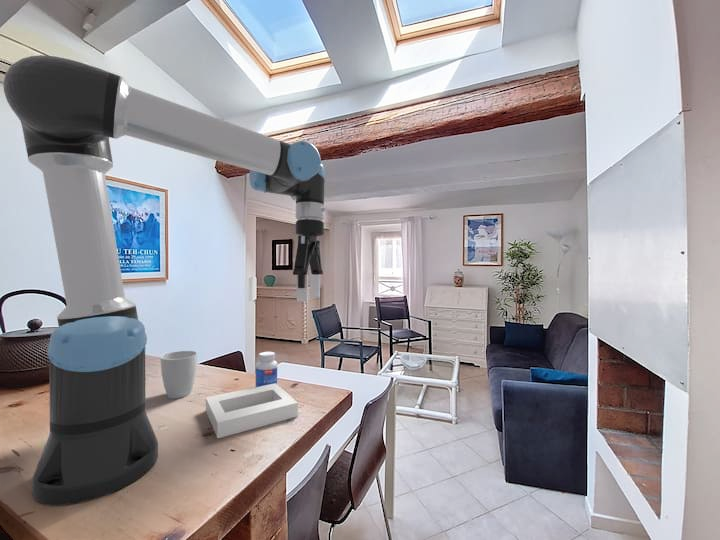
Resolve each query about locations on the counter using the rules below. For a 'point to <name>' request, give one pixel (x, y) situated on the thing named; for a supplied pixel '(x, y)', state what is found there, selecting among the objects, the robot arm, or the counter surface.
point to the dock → (249, 409)
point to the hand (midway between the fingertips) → (309, 299)
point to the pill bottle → (266, 369)
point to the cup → (178, 372)
